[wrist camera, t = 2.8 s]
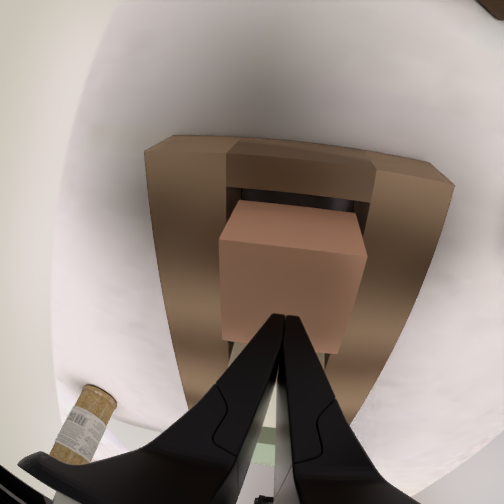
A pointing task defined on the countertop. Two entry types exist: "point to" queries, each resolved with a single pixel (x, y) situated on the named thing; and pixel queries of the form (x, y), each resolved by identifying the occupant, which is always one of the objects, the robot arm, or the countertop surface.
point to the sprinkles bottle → (84, 427)
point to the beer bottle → (494, 7)
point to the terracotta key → (290, 270)
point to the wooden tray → (303, 182)
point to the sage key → (265, 447)
